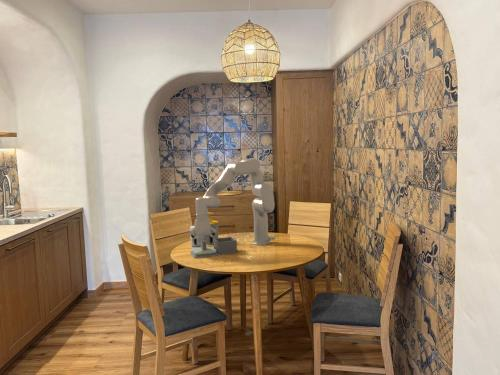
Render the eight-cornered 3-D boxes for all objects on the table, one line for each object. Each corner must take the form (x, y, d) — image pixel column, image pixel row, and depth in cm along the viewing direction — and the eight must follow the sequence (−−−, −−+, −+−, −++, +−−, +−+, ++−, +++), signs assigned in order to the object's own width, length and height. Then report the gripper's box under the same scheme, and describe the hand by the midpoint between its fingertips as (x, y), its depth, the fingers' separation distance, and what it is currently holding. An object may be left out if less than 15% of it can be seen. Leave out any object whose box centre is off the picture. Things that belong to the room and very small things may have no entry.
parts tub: (231, 248, 277) (231, 236, 276) (236, 252, 265) (236, 240, 265) (213, 250, 273) (213, 238, 272) (218, 255, 262) (217, 242, 261)
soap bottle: (220, 244, 291) (218, 213, 289) (201, 245, 289) (199, 214, 287) (218, 239, 304) (217, 210, 302) (200, 241, 302) (199, 211, 300)
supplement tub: (207, 248, 280) (206, 226, 279) (194, 250, 275) (193, 228, 274) (201, 245, 288) (200, 224, 287) (188, 247, 283) (187, 226, 282)
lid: (211, 249, 273) (211, 238, 272) (216, 253, 261) (215, 242, 260) (191, 251, 269) (191, 240, 268) (195, 256, 257) (195, 244, 256)
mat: (212, 250, 274) (212, 249, 274) (217, 255, 260) (217, 254, 260) (190, 252, 269) (190, 251, 269) (194, 258, 256) (194, 256, 256)
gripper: (214, 215, 269) (215, 241, 270) (187, 217, 263) (188, 244, 265) (217, 216, 262) (218, 243, 263) (189, 219, 256) (190, 246, 258)
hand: (203, 243), depth 264 cm, fingers open, 9 cm apart
